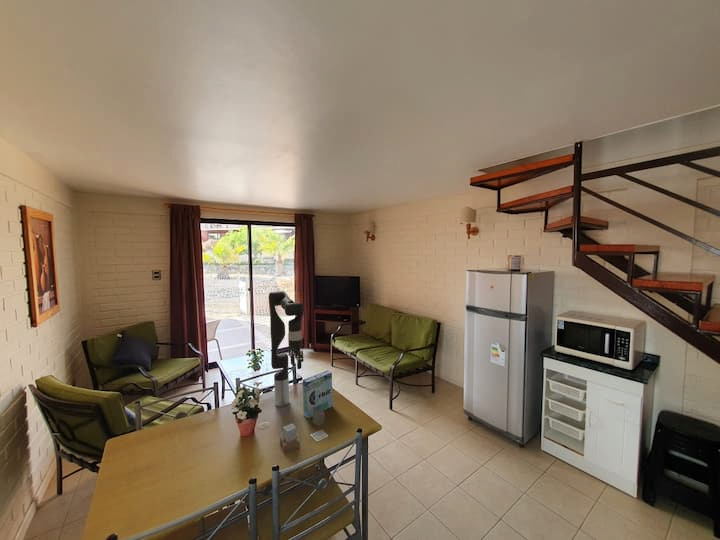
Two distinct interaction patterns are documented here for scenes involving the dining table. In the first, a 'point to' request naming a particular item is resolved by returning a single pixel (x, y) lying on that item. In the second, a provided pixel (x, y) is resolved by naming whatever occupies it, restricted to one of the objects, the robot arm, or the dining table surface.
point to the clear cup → (289, 433)
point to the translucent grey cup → (318, 417)
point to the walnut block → (289, 444)
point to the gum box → (317, 393)
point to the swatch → (319, 435)
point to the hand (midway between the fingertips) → (296, 366)
